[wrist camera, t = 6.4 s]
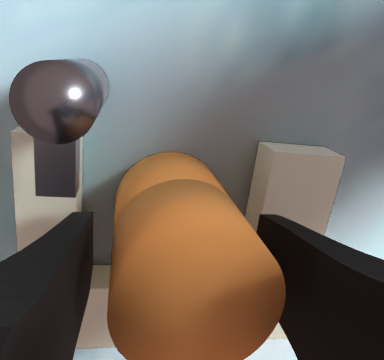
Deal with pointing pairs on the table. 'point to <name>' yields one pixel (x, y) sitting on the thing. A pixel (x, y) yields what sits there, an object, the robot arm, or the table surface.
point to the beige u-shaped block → (257, 204)
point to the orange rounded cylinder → (187, 267)
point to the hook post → (58, 117)
